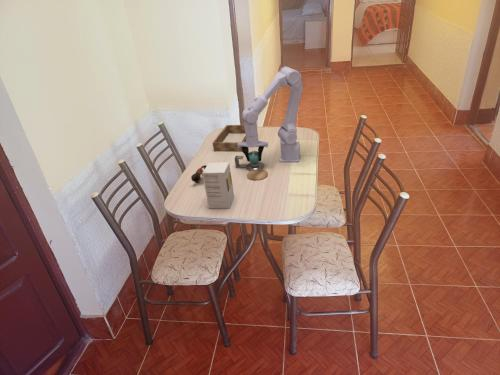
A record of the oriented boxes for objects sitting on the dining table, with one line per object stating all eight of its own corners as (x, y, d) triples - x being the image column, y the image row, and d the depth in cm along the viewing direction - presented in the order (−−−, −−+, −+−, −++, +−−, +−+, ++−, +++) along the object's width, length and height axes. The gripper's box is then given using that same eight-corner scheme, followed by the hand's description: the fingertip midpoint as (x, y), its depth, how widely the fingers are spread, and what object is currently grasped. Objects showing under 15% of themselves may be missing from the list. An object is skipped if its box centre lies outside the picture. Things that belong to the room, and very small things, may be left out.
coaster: (269, 170, 171) (269, 169, 170) (265, 180, 162) (265, 179, 162) (249, 169, 173) (249, 168, 173) (244, 180, 165) (244, 179, 165)
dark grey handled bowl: (265, 163, 178) (265, 153, 175) (262, 171, 170) (261, 161, 167) (238, 162, 181) (237, 152, 178) (234, 170, 174) (232, 160, 171)
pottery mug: (202, 174, 175) (208, 162, 171) (214, 187, 172) (221, 174, 167) (184, 180, 166) (189, 166, 161) (196, 193, 163) (202, 179, 158)
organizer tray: (254, 132, 213) (253, 124, 211) (243, 151, 192) (242, 143, 189) (227, 132, 217) (226, 125, 215) (213, 151, 196) (212, 143, 194)
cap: (259, 163, 171) (258, 155, 168) (248, 163, 172) (247, 155, 169) (261, 154, 179) (261, 146, 177) (251, 154, 180) (250, 146, 178)
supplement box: (230, 209, 146) (224, 173, 137) (208, 208, 148) (201, 173, 139) (234, 196, 154) (229, 161, 145) (214, 196, 156) (207, 162, 147)
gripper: (268, 130, 168) (270, 156, 175) (238, 131, 171) (241, 157, 178) (266, 136, 162) (268, 163, 169) (235, 137, 165) (238, 163, 172)
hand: (254, 160), depth 173 cm, fingers closed on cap, 5 cm apart
